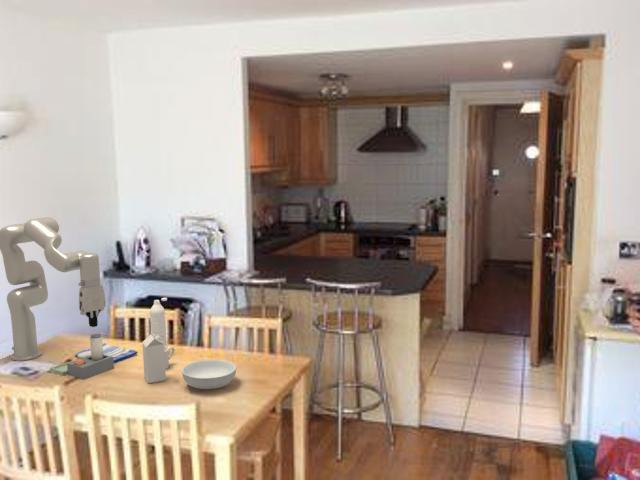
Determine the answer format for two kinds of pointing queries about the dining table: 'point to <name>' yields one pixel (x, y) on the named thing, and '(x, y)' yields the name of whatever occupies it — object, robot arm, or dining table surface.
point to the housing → (90, 367)
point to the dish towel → (110, 353)
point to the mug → (168, 355)
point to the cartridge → (96, 347)
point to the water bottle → (158, 320)
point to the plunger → (79, 362)
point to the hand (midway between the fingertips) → (93, 326)
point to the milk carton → (154, 359)
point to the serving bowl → (209, 373)
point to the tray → (60, 369)
